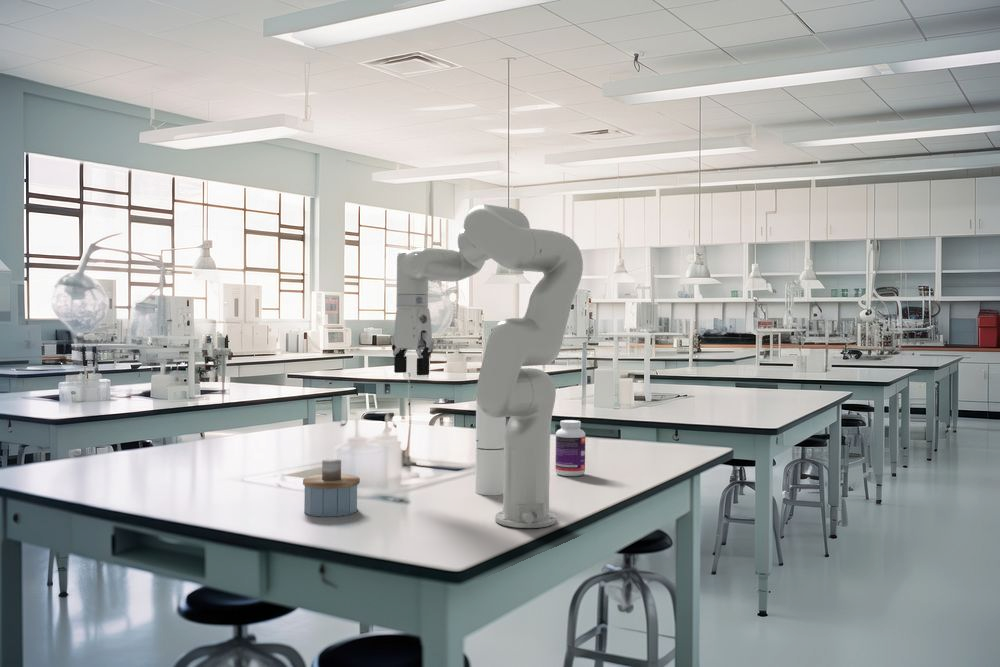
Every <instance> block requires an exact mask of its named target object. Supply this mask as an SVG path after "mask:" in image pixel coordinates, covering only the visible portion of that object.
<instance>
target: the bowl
mask: <svg viewBox="0 0 1000 667" xmlns="http://www.w3.org/2000/svg"><path fill="white" fill-rule="evenodd" d="M303 507H304V512H303V513H304V514H306V515H309V516H310V517H311V516H312V517H319V516H321V518H326V517H325V516H329V517H330V516H337V517H343V516H342V515H344V516H349V515H352V514H354V512H355V513H357V511H358V485H355V486H351V487H346V488H335V489H321V488H311V487H307V486H304V506H303ZM329 517H328V518H329Z"/></svg>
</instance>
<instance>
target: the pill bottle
mask: <svg viewBox="0 0 1000 667" xmlns="http://www.w3.org/2000/svg"><path fill="white" fill-rule="evenodd" d="M559 423H560V425H559V426H560V429H557V430H556V432H555V458H554V460H555V464H554V468H555V469H554V471H555V473H556V474H557V475H559V476H563V477H579V476H582V475H584V474H585V473H586V432H585V431H584V430H583V429H582V428H581V426H582V422H581V421H580V420H575V419H564V420H560V422H559Z"/></svg>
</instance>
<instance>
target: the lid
mask: <svg viewBox="0 0 1000 667" xmlns="http://www.w3.org/2000/svg"><path fill="white" fill-rule="evenodd" d="M321 465H322V469H321V474H315V475H310V476H306V477H304V478H303V479H302V485H303V486H304V487H305V486H307V487H311V488H321V489H335V488H346V487H351V486H355V485H357V486H358V485H359V484H360V482H361V478H360V477H359V476H358V475H353V474H348V473H347V474H346V473H342V459H336V458H327V459H323V460H322V461H321Z"/></svg>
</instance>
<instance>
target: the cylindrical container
mask: <svg viewBox="0 0 1000 667" xmlns="http://www.w3.org/2000/svg"><path fill="white" fill-rule="evenodd" d="M476 390H477V387H476ZM475 397H476V396H475ZM475 399H476V400H475V402H476V404H475V410H476V411H475V421H476V422H475V475H474V476H475V481H474V482H475V483H474V484H475V486H474V490H475V492H474V493H475V494H477V495H483V496H499V495H503V476H504V435H505V430H506V426H507V424H506V423H507V421H506V420H507V417H501V418H494V417H490V416H487V415H485V414H484V413H483V412H482V411H481V409H480V408H479V406H478V403H477V397H476V398H475Z"/></svg>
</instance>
